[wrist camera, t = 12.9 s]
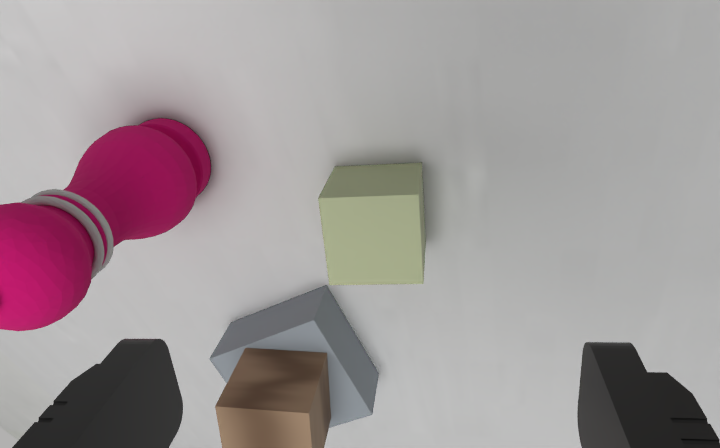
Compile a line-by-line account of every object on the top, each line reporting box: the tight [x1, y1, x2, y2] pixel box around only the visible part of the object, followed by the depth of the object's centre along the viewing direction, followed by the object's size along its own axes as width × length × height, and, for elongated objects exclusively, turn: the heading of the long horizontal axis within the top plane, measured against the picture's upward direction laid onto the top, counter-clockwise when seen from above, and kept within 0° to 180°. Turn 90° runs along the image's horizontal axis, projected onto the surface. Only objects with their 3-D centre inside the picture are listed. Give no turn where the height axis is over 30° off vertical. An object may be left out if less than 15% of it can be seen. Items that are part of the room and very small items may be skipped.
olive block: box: [318, 163, 426, 285], centre depth 37 cm, size 6×6×6 cm
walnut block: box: [215, 348, 331, 448], centre depth 39 cm, size 6×6×6 cm
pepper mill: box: [0, 118, 211, 331], centre depth 32 cm, size 7×7×20 cm
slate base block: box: [210, 285, 379, 428], centre depth 44 cm, size 9×9×5 cm
